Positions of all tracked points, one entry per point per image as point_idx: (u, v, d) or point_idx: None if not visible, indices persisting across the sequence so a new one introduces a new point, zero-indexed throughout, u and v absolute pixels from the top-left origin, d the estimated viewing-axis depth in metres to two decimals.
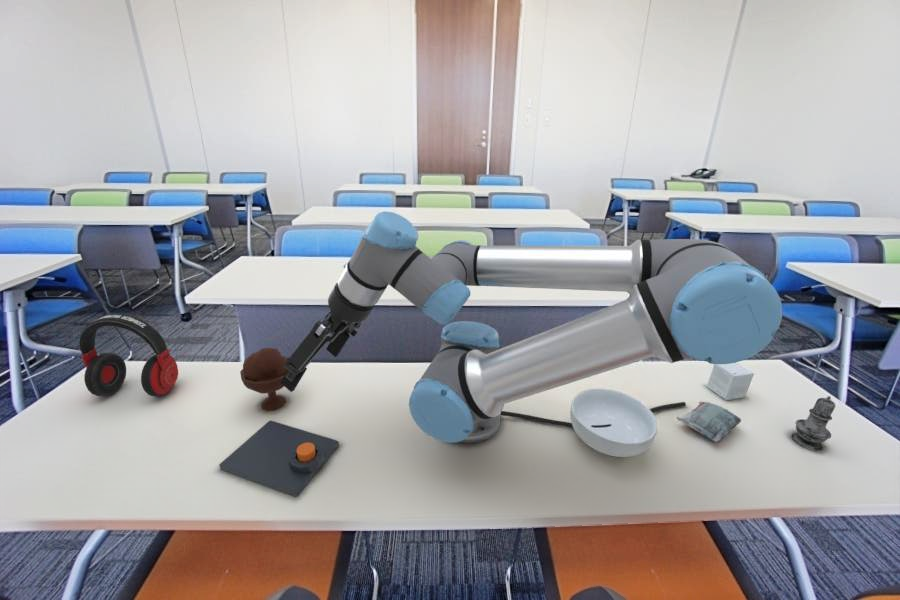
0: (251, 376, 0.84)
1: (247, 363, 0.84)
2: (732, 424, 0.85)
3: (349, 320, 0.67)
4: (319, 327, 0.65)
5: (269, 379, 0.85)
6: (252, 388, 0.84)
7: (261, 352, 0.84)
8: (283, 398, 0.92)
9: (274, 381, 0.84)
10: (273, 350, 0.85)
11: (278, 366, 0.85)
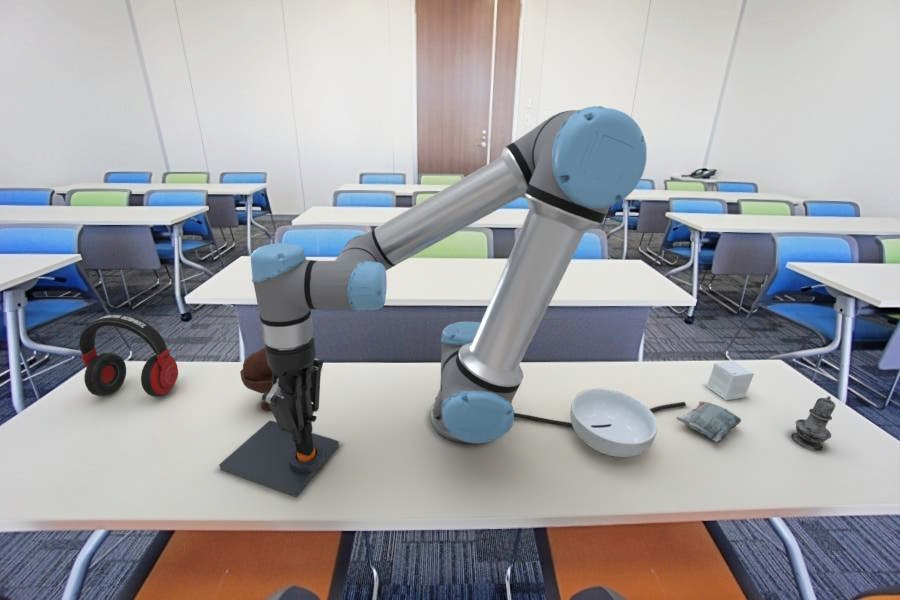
0: (251, 376, 0.84)
1: (247, 363, 0.84)
2: (732, 424, 0.85)
3: (291, 369, 0.62)
4: (266, 401, 0.62)
5: (269, 379, 0.85)
6: (252, 388, 0.84)
7: (261, 352, 0.84)
8: (283, 398, 0.92)
9: None
10: None
11: None
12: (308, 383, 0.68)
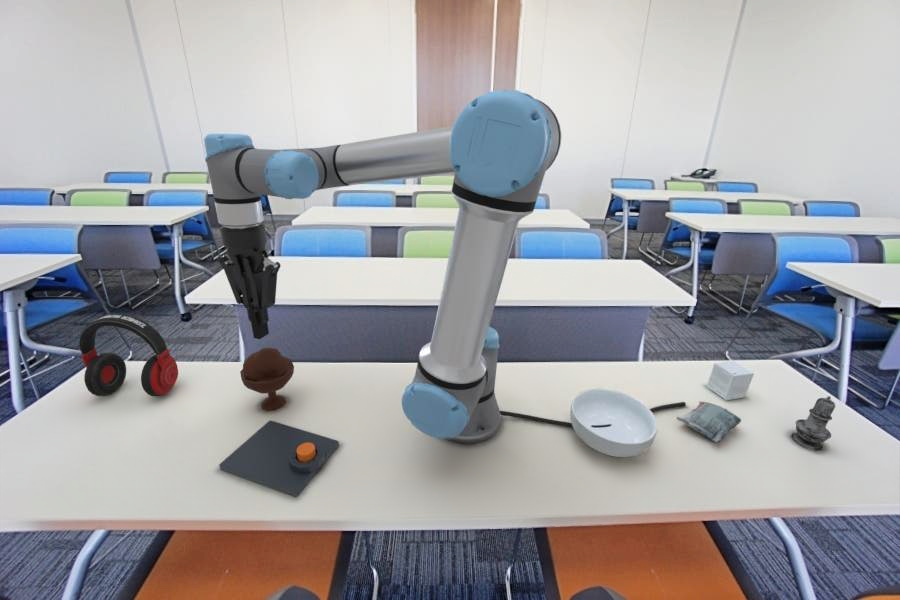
0: (251, 376, 0.84)
1: (247, 363, 0.84)
2: (732, 424, 0.85)
3: None
4: None
5: (269, 379, 0.85)
6: (252, 388, 0.84)
7: (261, 352, 0.84)
8: (283, 398, 0.92)
9: (274, 381, 0.84)
10: (273, 350, 0.85)
11: (278, 366, 0.85)
12: (248, 272, 0.75)
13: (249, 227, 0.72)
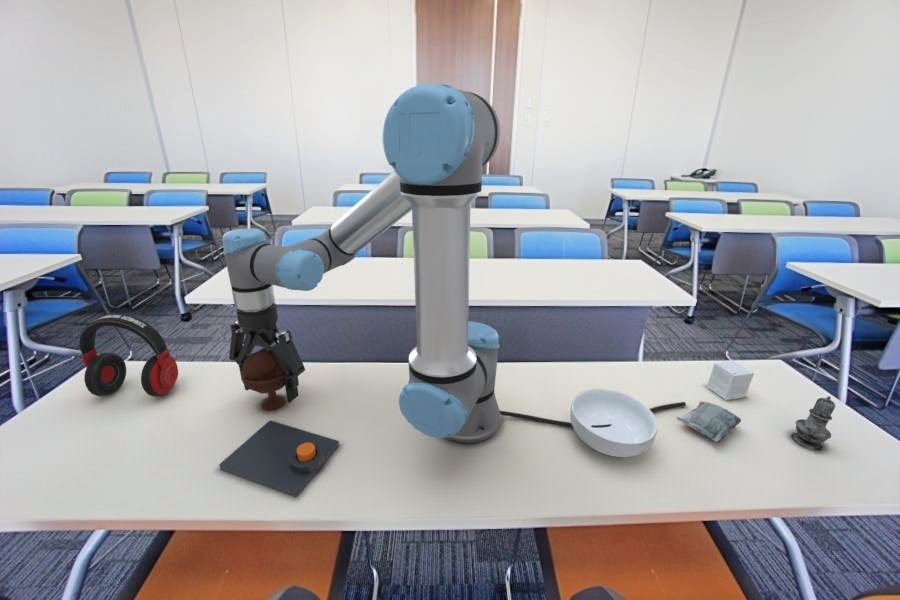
0: (251, 376, 0.84)
1: (247, 363, 0.84)
2: (732, 424, 0.85)
3: None
4: None
5: (269, 379, 0.85)
6: (252, 388, 0.84)
7: (261, 352, 0.84)
8: (283, 398, 0.92)
9: (274, 381, 0.84)
10: None
11: (278, 366, 0.85)
12: (266, 347, 0.83)
13: (262, 310, 0.80)
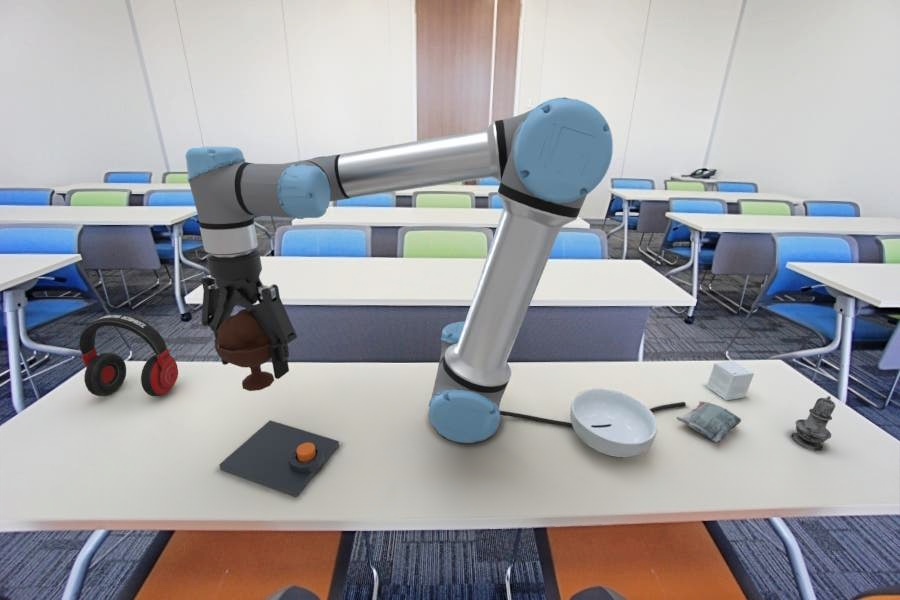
0: (227, 344, 0.65)
1: (222, 327, 0.66)
2: (732, 424, 0.85)
3: None
4: None
5: (251, 348, 0.66)
6: (229, 359, 0.66)
7: (240, 313, 0.66)
8: (270, 375, 0.74)
9: (257, 350, 0.65)
10: None
11: (262, 332, 0.67)
12: (246, 305, 0.64)
13: (240, 255, 0.61)
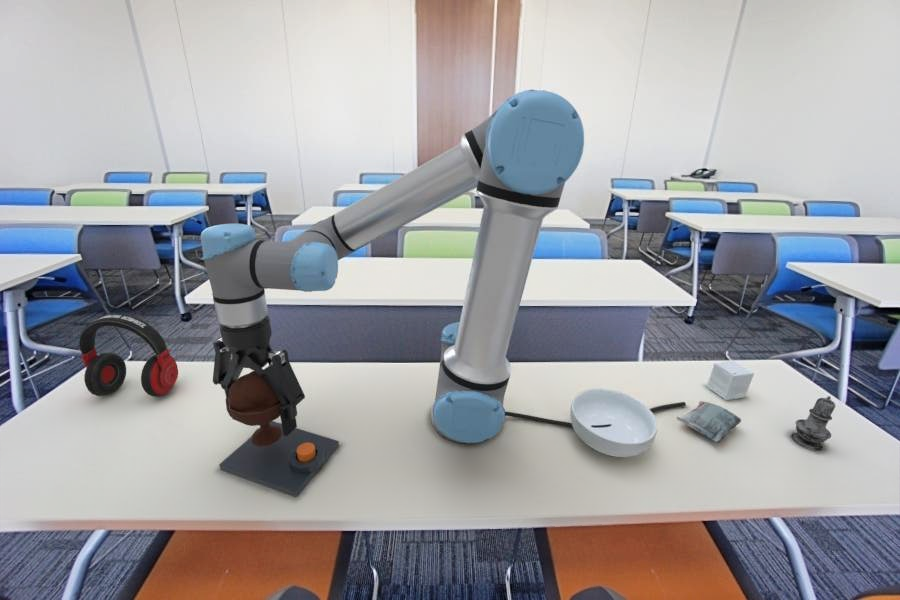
0: (238, 406, 0.68)
1: (234, 389, 0.69)
2: (732, 424, 0.85)
3: None
4: None
5: (261, 409, 0.69)
6: (240, 420, 0.69)
7: (251, 376, 0.68)
8: (278, 429, 0.77)
9: (267, 412, 0.68)
10: None
11: (272, 393, 0.70)
12: (256, 370, 0.67)
13: (251, 325, 0.64)
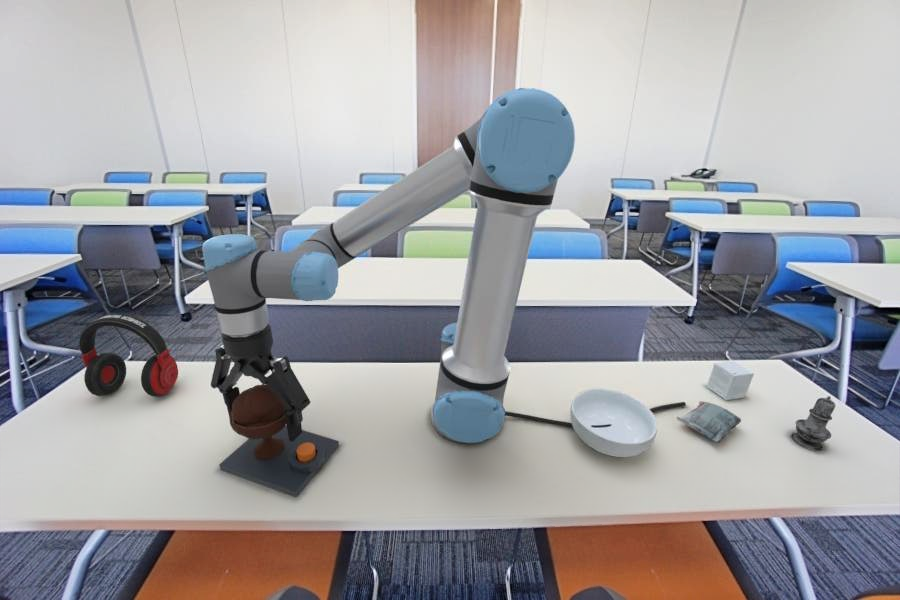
0: (242, 420, 0.69)
1: (237, 404, 0.70)
2: (732, 424, 0.85)
3: None
4: None
5: (263, 423, 0.71)
6: (243, 434, 0.70)
7: (254, 391, 0.70)
8: (280, 441, 0.78)
9: (269, 426, 0.70)
10: (268, 388, 0.71)
11: (274, 407, 0.71)
12: (259, 378, 0.68)
13: (253, 334, 0.65)
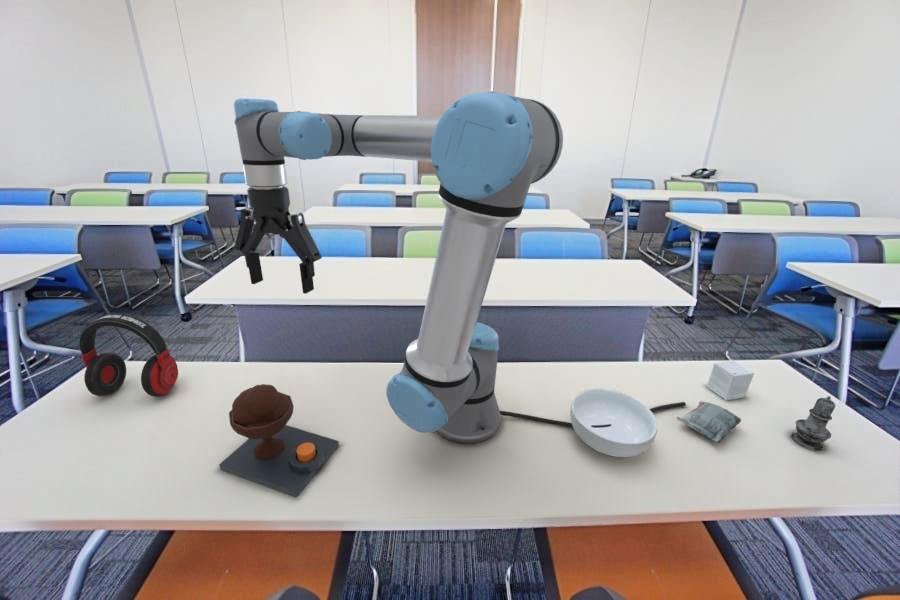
0: (242, 420, 0.69)
1: (237, 404, 0.70)
2: (732, 424, 0.85)
3: None
4: None
5: (263, 423, 0.71)
6: (243, 434, 0.70)
7: (254, 391, 0.70)
8: (280, 441, 0.78)
9: (269, 426, 0.70)
10: (268, 388, 0.71)
11: (274, 407, 0.71)
12: (278, 231, 0.79)
13: (274, 188, 0.76)
